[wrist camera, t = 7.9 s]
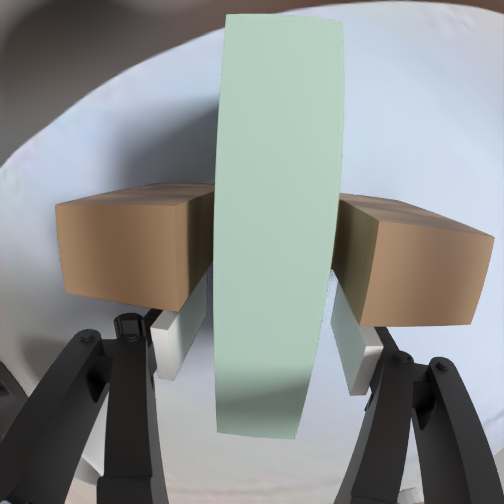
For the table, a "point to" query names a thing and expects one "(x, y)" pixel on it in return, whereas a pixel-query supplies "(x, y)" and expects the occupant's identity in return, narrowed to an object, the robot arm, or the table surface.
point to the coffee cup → (411, 496)
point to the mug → (94, 451)
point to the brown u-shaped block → (343, 262)
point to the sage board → (274, 214)
